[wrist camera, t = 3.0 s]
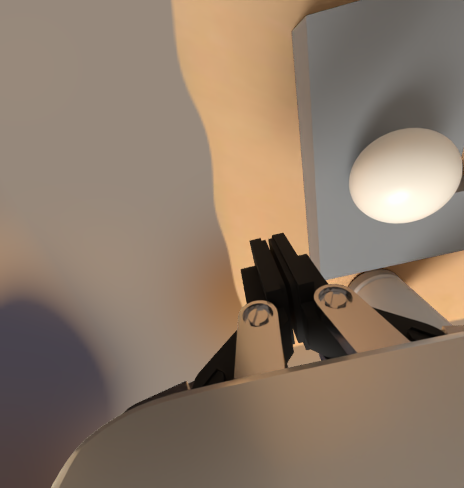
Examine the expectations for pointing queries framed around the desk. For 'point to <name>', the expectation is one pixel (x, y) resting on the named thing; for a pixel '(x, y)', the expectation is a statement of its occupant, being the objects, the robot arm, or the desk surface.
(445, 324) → the travel mug
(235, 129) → the desk surface
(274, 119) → the desk surface
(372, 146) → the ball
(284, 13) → the desk surface
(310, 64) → the plate
